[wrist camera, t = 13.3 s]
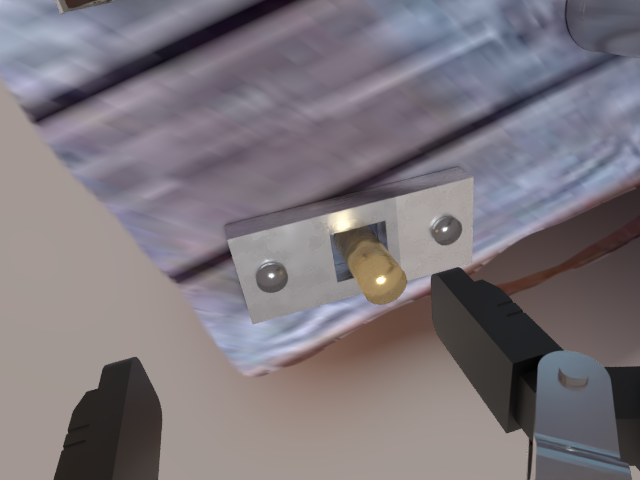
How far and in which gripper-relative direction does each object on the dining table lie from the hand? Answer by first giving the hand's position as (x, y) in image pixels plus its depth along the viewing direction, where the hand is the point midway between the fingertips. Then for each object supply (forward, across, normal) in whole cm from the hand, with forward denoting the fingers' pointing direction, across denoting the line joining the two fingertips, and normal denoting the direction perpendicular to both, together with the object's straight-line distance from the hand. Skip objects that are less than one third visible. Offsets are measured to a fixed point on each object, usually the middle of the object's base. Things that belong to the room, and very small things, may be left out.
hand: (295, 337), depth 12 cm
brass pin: (+30, -9, +16) cm, 35 cm away
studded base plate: (+30, -9, +16) cm, 35 cm away
